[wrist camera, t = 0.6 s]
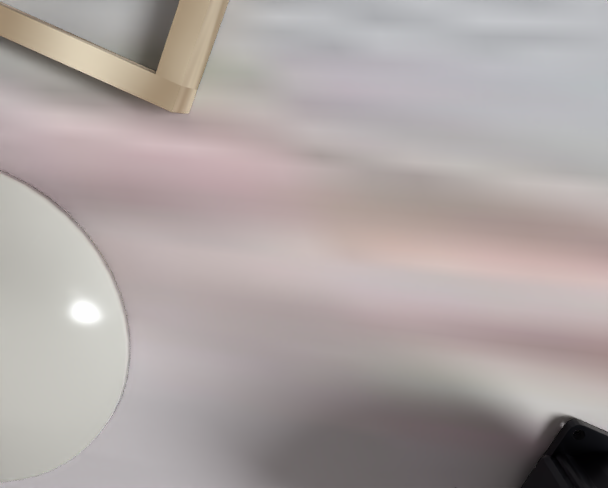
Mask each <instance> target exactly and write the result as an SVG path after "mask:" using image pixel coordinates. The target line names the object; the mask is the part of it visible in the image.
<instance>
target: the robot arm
mask: <svg viewBox="0 0 608 488" xmlns="http://www.w3.org/2000/svg"><path fill="white" fill-rule="evenodd" d="M576 430H580V432H579V433H578V434H573V433H574V432H575V431H576ZM521 488H608V432H606V431H604V430H601V429H599V428H597V427H594V426H592V425H590V424H588V423H585V422H583V421H581V420H577V419H575V420H570V421H568V422H567V423H566V424H565V425H564V426H563V428H562V429H561V431H560V432H559V434H558V435H557V437H556V438H555V440H554V441H553V443H552V444H551V445H550V447H549V448H548V450H547V451H546V453H545V454H544V456H543V457H542V458H541V459H540V461H539V462H538V464H537V465H536V467H535V468H534V469H533V471H532V472H531V474H530V475H529V477H528V478H527V480H526V481H525V483H524V484H523V486H522V487H521Z"/></svg>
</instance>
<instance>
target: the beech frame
mask: <svg viewBox="0 0 608 488" xmlns="http://www.w3.org/2000/svg"><path fill="white" fill-rule="evenodd" d="M228 2H229V0H180V1H179V4H178V7H177V10H176V13H175V16H174V19H173V22H172V25H171V28H170V31H169V34H168V37H167V40H166V43H165V46H164V50H163V53H162V56H161V59H160V62H159V65H158V68H157V71H154V70H152V69H149V68H147V67H145V66H143V65H140V64H138V63H136V62H134V61H132V60H129V59H127V58H125V57H123V56H120V55H118V54H116V53H114V52H111V51H109V50H107V49H105V48H103V47H100V46H98V45H96V44H94V43H91V42H89V41H87V40H85V39H82V38H80V37H78V36H76V35H74V34H71V33H69V32H67V31H65V30H62V29H60V28H58V27H56V26H53V25H51V24H49V23H47V22H45V21H42V20H40V19H38V18H36V17H33V16H31V15H29V14H27V13H24V12H22V11H20V10H18V9H16V8H13V7H11V6H9V5H7V4H4V3H2V2H0V36H2V37H4V38H7V39H9V40H11V41H13V42H16V43H18V44H20V45H22V46H25V47H27V48H29V49H31V50H34V51H36V52H38V53H40V54H43V55H45V56H47V57H49V58H51V59H54V60H56V61H58V62H60V63H63V64H65V65H67V66H69V67H72V68H74V69H76V70H78V71H81V72H83V73H85V74H87V75H90V76H92V77H94V78H96V79H99V80H101V81H103V82H105V83H107V84H110V85H112V86H114V87H116V88H119V89H121V90H123V91H125V92H128V93H130V94H132V95H134V96H137V97H139V98H141V99H143V100H146V101H148V102H150V103H152V104H155V105H157V106H159V107H161V108H164V109H166V110H168V111H170V112H175V113H187V114H189V112H190V109H191V106H192V103H193V101H194V98H195V95H196V92H197V89H198V86H199V84H200V81H201V78H202V75H203V72H204V70H205V67H206V64H207V61H208V58H209V55H210V53H211V50H212V47H213V44H214V41H215V39H216V36H217V33H218V30H219V27H220V24H221V22H222V19H223V16H224V13H225V10H226V8H227V5H228Z"/></svg>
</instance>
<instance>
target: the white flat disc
mask: <svg viewBox="0 0 608 488" xmlns="http://www.w3.org/2000/svg"><path fill="white" fill-rule="evenodd" d="M129 364H130V332H129V325H128V318H127V314H126V310H125V306H124V303H123V299H122V296H121V293H120V290H119V288H118V286H117V283H116V281H115V279H114V276H113V274H112V272H111V270H110V268H109V267H108V265H107V263H106V261H105V260H104V258H103V256H102V254H101V253H100V251H99V250H98V248H97V247H96V246H95V244H94V243H93V242H92V240H91V239H90V238H89V236H88V235H87V234H86V232H85V231H84V230H83V229H82V228H81V227H80V226H79V225H78V224H77V223H76V222H75V220H74V219H73V218H72V217H71V216H70V215H69V214H68V213H67V212H65V211H64V210H63V209H62V208H61V207H60V206H58V205H57V204H56V203H55V202H54V201H52V200H51V199H50V198H49V197H47V196H46V195H44V194H43V193H41V192H40V191H38V190H37V189H35V188H34V187H32V186H31V185H29V184H27V183H26V182H24V181H22V180H20V179H18V178H16V177H14V176H12V175H10V174H8V173H6V172H3V171H0V482H8V481H17V480H23V479H27V478H31V477H35V476H39V475H42V474H44V473H47V472H49V471H52V470H54V469H56V468H58V467H60V466H62V465H63V464H65V463H67V462H69V461H71V460H72V459H73V458H75V457H76V456H77V455H78V454H80V453H81V452H82V451H83V450H85V449H86V448H87V447H88V446H89V445H90V444H91V442H92V441H93V440H94V439H95V438H96V437H97V436H98V435H99V434H100V432H101V431H102V430H103V429H104V427H105V426H106V424H107V423H108V421H109V420H110V418H111V417H112V415H113V414H114V412H115V410H116V408H117V406H118V404H119V402H120V399H121V397H122V395H123V391H124V388H125V385H126V381H127V378H128V371H129Z"/></svg>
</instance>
